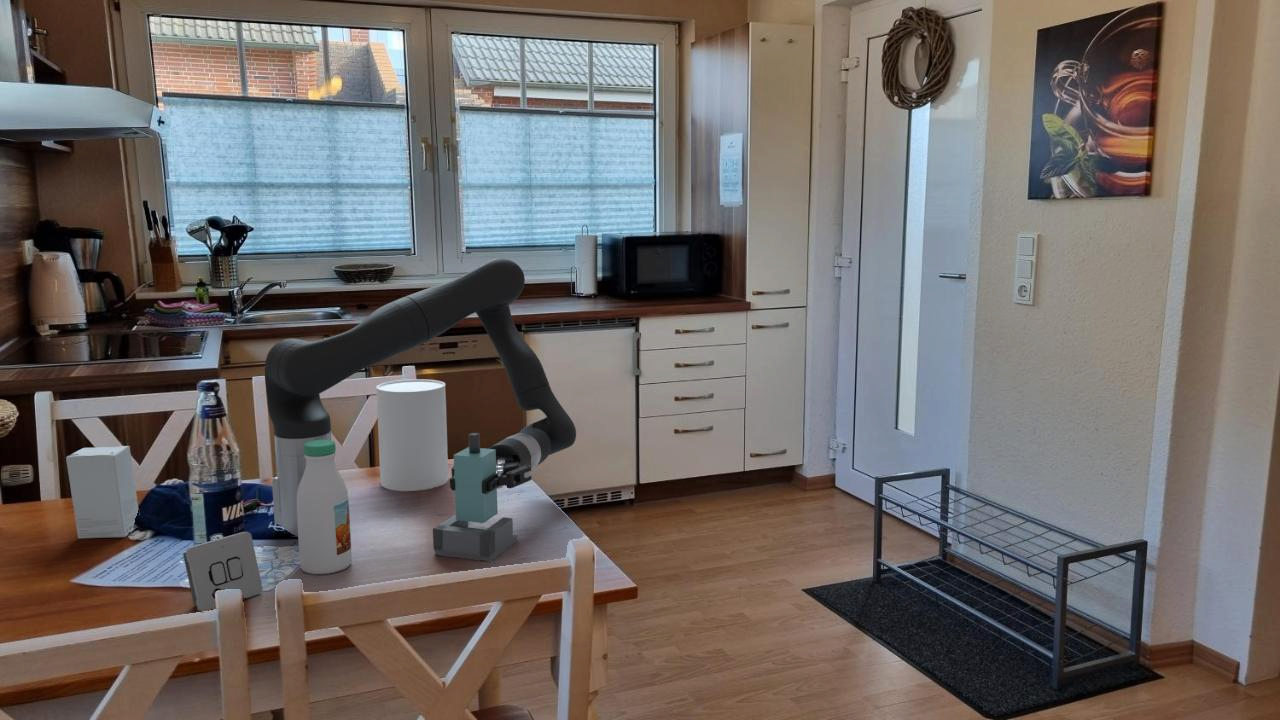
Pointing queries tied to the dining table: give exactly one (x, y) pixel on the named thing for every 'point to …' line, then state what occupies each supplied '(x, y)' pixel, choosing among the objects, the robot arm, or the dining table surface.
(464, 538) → the socket
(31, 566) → the dining table surface
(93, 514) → the skincare box
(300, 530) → the milk bottle
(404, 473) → the canister
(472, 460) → the plug
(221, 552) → the electrical switch
